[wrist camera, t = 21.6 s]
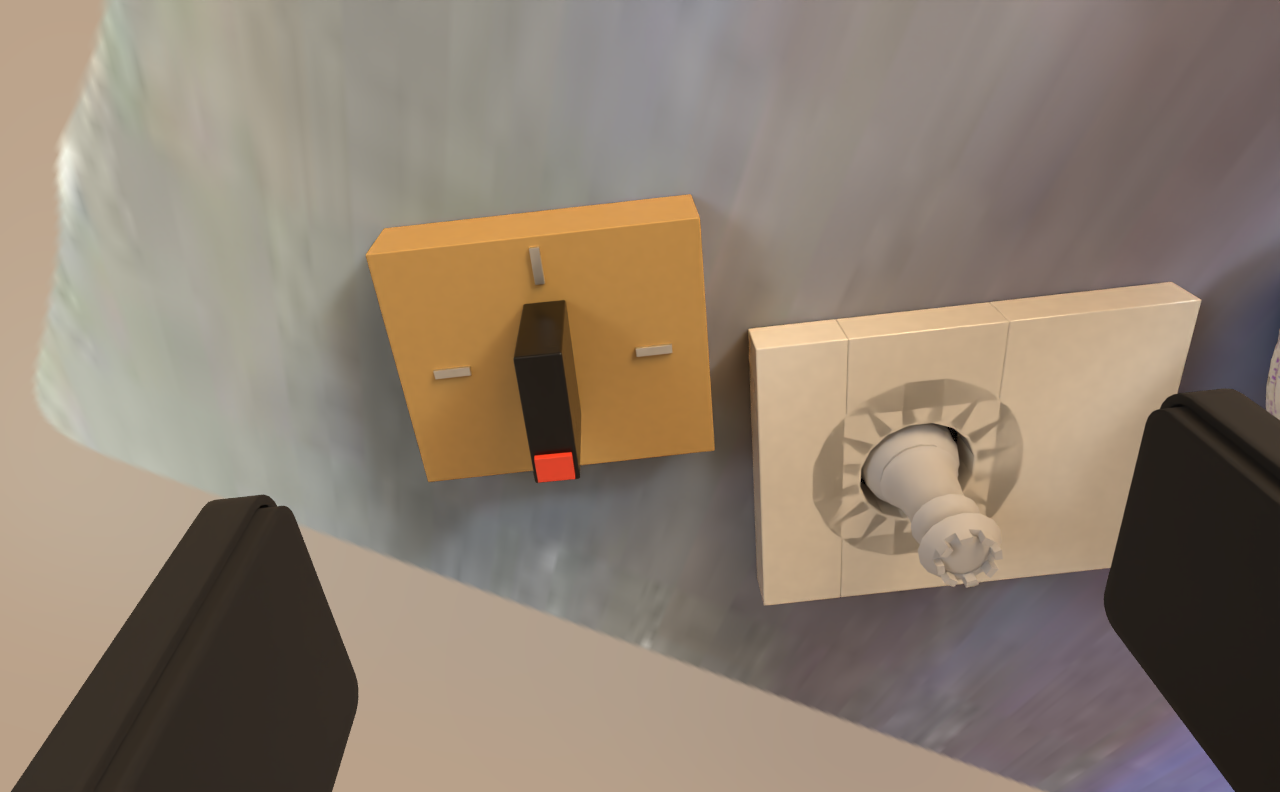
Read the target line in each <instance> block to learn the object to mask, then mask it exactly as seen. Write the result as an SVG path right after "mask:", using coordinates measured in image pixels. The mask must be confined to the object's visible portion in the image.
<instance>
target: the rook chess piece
mask: <svg viewBox="0 0 1280 792" xmlns="http://www.w3.org/2000/svg"><path fill="white" fill-rule="evenodd" d="M959 465H960V463H959V455H958V448H957V444H956V443H955V441H954V440H953V439H952V437H951V433H950V431H949V430H948V429H947V427H946V426H943V425H939V424H935V423H927V424H918V425H909V426H907V427H905V428H902V429H900V430H898V431H896V432H894V433H891V434H889V435H887V436H886V437H885V438H884V439H883V440H882V441H881V442H880V443H878V444H877V445H876V446H875V447H874V448H873V449H872V450H871V451H870V453H869V455H868V457H867V459H866V460H865V462H864V464H863V466H862V468H861V477H862V478H863V479H864V480H865V482H866V485H867V486H868V487H869V488H870V490H871V491H872V492H873V493H874V494H875V496H877V497H878V498H879V499H881V500H883V501H885V502H887V503H890V504H891V505H893V506H896V507H898V508H900V509H901V510H902V511H903V512H904V513H905V515H906V516H907V517H908V518H909V520H910V522H911V531H912V536H913V537H914V539H915V540H916V541H917V542H918V543H919V544H920V546H919V549H918V554H919V560H920V563H921V565H922V566H923V567H924V568H925V569H926V570H927V572H929V573H931V574H934V575H936V576H938V577H941V578H942V580H943V582H944V583H945V584H948V585H950V586H952V587H955V585H956V584H957V582H958V581H957V580H956V579H958V580H962V581H963V583H964V584H965V586H966V588H967V587H971V586H975V585H979V583H978V581H977V579H976V577H975V576H976V575H978V574H979V573H981V572H983V571H984V573H985V574H986V575H987V576H988V577H990V578H991V577H992V576H993V575H994V574H995V573H996V572H997V571H998V570H999V569H998V567H997V566H996V564H995V563H994V559H995V560H1001V559H1003V556H1002V549H1001V548H1000V545H1001V542H1002V539H1001V530H1000V528H999V527H998V526H997V524H996V523H995V522H994V520H993V519H991V518H989V517H986V516H984V515H982V514H980V513H979V508H978V506H977V505H976V504H975V502H974V501H973V500H972V499H970V498H968V497H965V496H964V494H963V491H962V489H961V486H960V484H959V481H958V479H957V478H958V475H959V473H958V468H959Z"/></svg>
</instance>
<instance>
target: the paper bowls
mask: <svg viewBox="0 0 1280 792" xmlns="http://www.w3.org/2000/svg"><path fill="white" fill-rule="evenodd" d="M1266 411H1268V412H1269V413H1270V414H1272V415H1273V416H1275V417H1276V418H1277V419H1279V420H1280V330H1279V336H1278V342H1277V344H1276V347H1275V350H1274V353H1273V357H1272V359H1271V365H1270V371H1269V375H1268V381H1267V385H1266Z"/></svg>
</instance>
